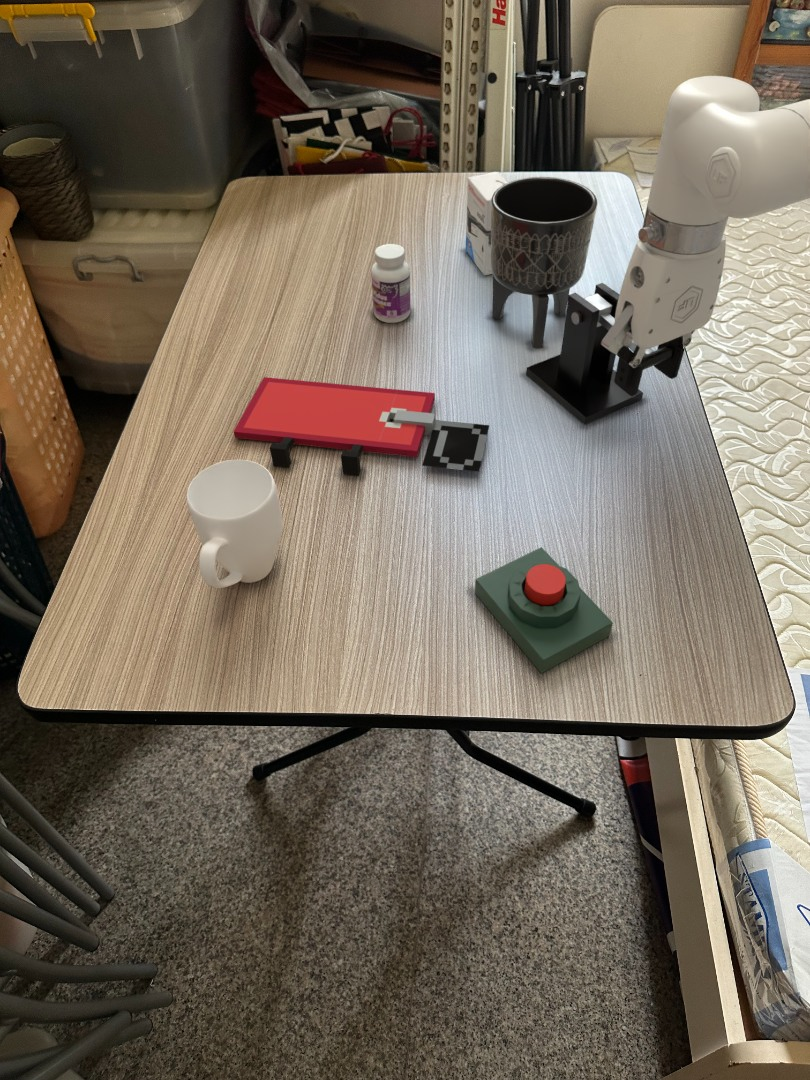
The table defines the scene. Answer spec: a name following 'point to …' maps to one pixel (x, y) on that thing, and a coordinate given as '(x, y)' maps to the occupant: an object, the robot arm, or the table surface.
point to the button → (545, 584)
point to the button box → (542, 613)
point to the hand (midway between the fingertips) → (645, 379)
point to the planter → (539, 243)
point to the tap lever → (649, 356)
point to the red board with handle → (357, 424)
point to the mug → (235, 521)
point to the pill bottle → (390, 284)
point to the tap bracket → (584, 364)
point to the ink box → (481, 218)
